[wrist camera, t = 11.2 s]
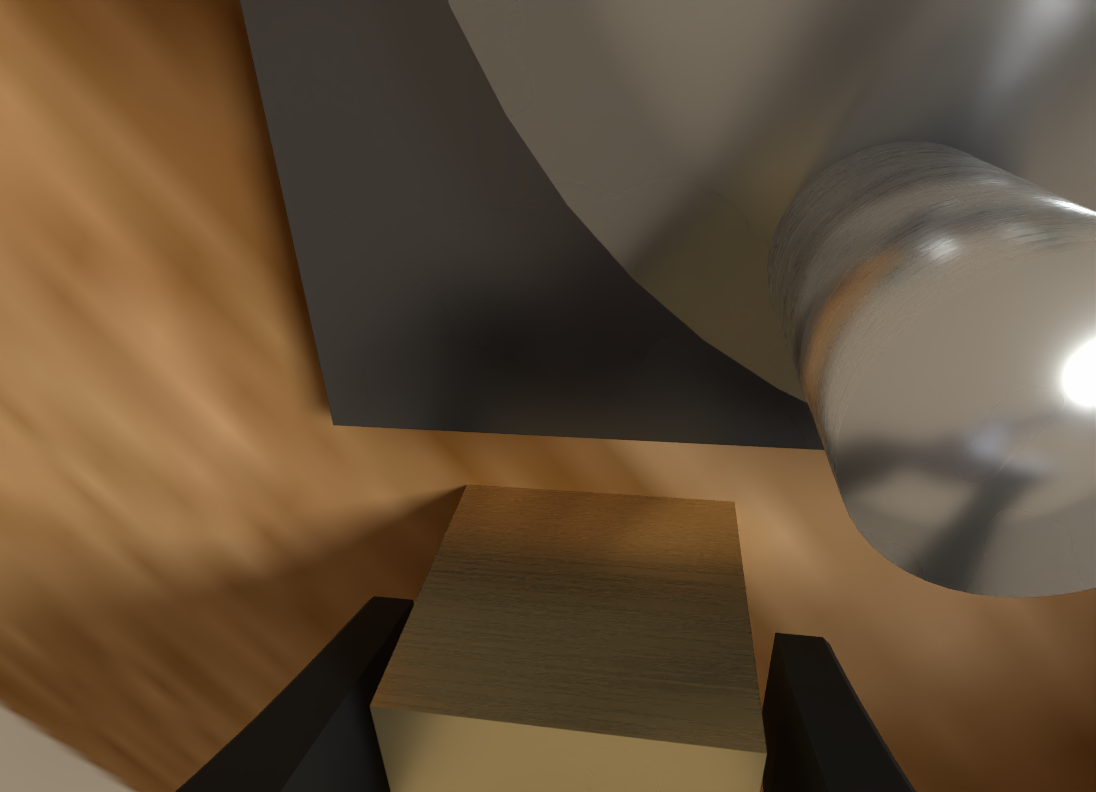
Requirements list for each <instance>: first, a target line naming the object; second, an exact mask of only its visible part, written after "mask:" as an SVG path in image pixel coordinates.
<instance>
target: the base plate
mask: <svg viewBox="0 0 1096 792" xmlns="http://www.w3.org/2000/svg"><path fill="white" fill-rule="evenodd" d="M240 3H241V8H242V12H243V17H244V21H245V26H246V30H247V35H248V39H249V44H250V49H251V53H252V58H253V62H254V67H255V71H256V76H257V80H258V85H259V89H260V94H261V98H262V103H263V108H264V112H265V117H266V121H267V126H268V130H269V135H270V139H271V144H272V148H273V153H274V157H275V162H276V167H277V171H278V176H279V180H280V185H281V189H282V194H283V198H284V203H285V207H286V212H287V216H288V221H289V226H290V230H291V235H292V239H293V244H294V248H295V253H296V257H297V262H298V266H299V271H300V275H301V280H302V284H303V289H304V294H305V298H306V303H307V307H308V312H309V316H310V321H311V325H312V330H313V334H314V339H315V343H316V348H317V353H318V357H319V362H320V366H321V371H322V375H323V380H324V384H325V389H326V393H327V398H328V402H329V407H330V412H331V416H332V421H333V425H342V426H362V427H382V428H401V429H421V430H441V431H461V432H481V433H500V434H520V435H540V436H560V437H580V438H599V439H619V440H639V441H659V442H678V443H698V444H718V445H738V446H758V447H777V448H797V449H817V450H825V449H824V447H823V444H822V441H821V438H820V435H819V433H818V430H817V427H816V424H815V422H814V419H813V416H812V413H811V410H810V408H809V405H808V403H806V402H804V401H802V400H800V399H798V398H796V397H794V396H792V395H790V394H788V393H786V392H783V391H781V390H779V389H778V388H776V387H775V386H773V385H772V384H770V383H768V382H767V381H765V380H764V379H762V378H761V377H759V376H758V375H756V374H755V373H753V372H752V371H750V370H749V369H747V368H746V367H744V366H743V365H741V364H740V363H738V362H737V361H735V360H733V359H732V358H730V357H729V356H727V355H726V354H724V353H723V352H721V351H720V350H718V349H717V348H715V347H714V346H712V345H711V344H709V343H708V342H706V341H705V340H703V339H702V338H701V337H700V336H698V335H697V334H696V333H695V332H694V331H693V330H692V329H690V328H689V327H688V326H687V325H686V324H685V323H683V322H682V321H681V320H680V319H679V318H678V317H676V316H675V315H674V314H673V313H672V312H671V311H670V310H668V309H667V308H666V307H665V306H664V305H663V304H661V303H660V302H659V301H658V300H657V299H656V298H655V297H653V296H652V295H651V294H650V293H649V292H648V291H646V290H645V289H644V288H643V287H642V286H641V285H640V284H638V283H637V282H636V281H635V280H634V279H633V278H632V277H631V276H630V275H629V274H628V273H627V272H626V270H625V269H624V268H623V267H622V266H621V265H620V264H619V263H618V261H617V260H616V259H615V258H614V257H613V256H612V255H611V254H610V252H609V251H608V250H607V249H606V248H605V247H604V246H603V245H602V243H601V242H600V241H599V240H598V239H597V238H596V237H595V235H594V234H593V233H592V232H591V231H590V230H589V229H588V228H587V226H586V225H585V224H584V223H583V222H582V221H581V220H580V219H579V217H578V216H577V215H576V214H575V213H574V212H573V211H572V210H571V208H570V207H569V206H568V205H567V204H566V202H565V201H564V199H563V198H562V196H561V195H560V193H559V192H558V191H557V189H556V188H555V186H554V185H553V183H552V182H551V180H550V179H549V177H548V176H547V174H546V173H545V171H544V170H543V168H542V167H541V166H540V164H539V163H538V161H537V160H536V158H535V157H534V155H533V154H532V152H531V151H530V149H529V148H528V146H527V145H526V144H525V142H524V141H523V139H522V138H521V136H520V135H519V133H518V132H517V130H516V129H515V127H514V126H513V124H512V123H511V121H510V120H509V119H508V117H507V116H506V114H505V112H504V110H503V108H502V106H501V104H500V102H499V100H498V98H497V96H496V94H495V93H494V91H493V89H492V87H491V85H490V83H489V81H488V79H487V77H486V75H485V73H484V71H483V69H482V67H481V65H480V64H479V62H478V60H477V58H476V56H475V54H474V52H473V50H472V48H471V46H470V44H469V42H468V40H467V38H466V36H465V35H464V33H463V31H462V29H461V27H460V25H459V23H458V21H457V19H456V17H455V15H454V13H453V11H452V9H451V7H450V5H449V2H448V0H240Z"/></svg>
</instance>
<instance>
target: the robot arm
mask: <svg viewBox="0 0 1096 792" xmlns="http://www.w3.org/2000/svg"><path fill="white" fill-rule="evenodd" d="M413 606H414V603H413V600H408V599H397V598H386V597H375V596H374V597H373V598H372V599H370V600H369V601H368V602H367V603H366V604H365V605H364V606H363V607H362V608H361V609H360V611H359V612H358V613H357V614H356V615H355V616H354V617H353V618H352V619H351V620H350V621H349V622H348V623H347V624H346V625H345V626H344V627H343V629H342V630H341V631H340V632H339V633H338V634H337V635H336V636H335V637H334V638H333V639H332V640H331V641H330V642H329V643H328V644H327V645H326V647H325V648H324V649H323V650H322V651H321V652H320V653H319V654H318V655H317V656H316V657H315V658H314V659H313V660H312V661H311V662H310V663H309V664H308V665H307V666H306V667H305V668H304V669H303V671H302V672H301V673H300V674H299V675H298V676H297V677H296V678H295V679H294V680H293V681H292V682H291V683H290V684H289V685H288V686H287V687H286V688H285V689H284V690H283V691H282V692H281V693H280V694H279V695H278V696H277V697H276V698H275V699H274V700H273V701H272V702H271V703H270V704H269V705H268V706H267V707H266V708H265V709H264V710H263V711H262V712H261V713H260V714H259V715H258V716H257V717H256V718H255V719H254V720H253V721H252V722H251V723H249V724H248V725H247V726H246V727H245V728H244V729H243V730H242V731H241V732H240V733H239V734H238V735H237V736H236V737H235V738H234V739H232V740H231V741H230V742H229V743H228V744H227V745H226V746H225V747H224V748H223V749H222V750H221V751H219V752H218V753H217V754H216V755H215V756H214V757H213V758H212V759H211V760H210V761H209V762H208V763H207V764H205V765H204V766H203V767H202V768H201V769H200V770H199V771H198V772H197V773H196V774H195V775H194V776H192V777H191V778H190V779H189V780H188V781H187V782H186V783H185V784H183V785H182V786H181V787H180V788H179V789H178V790H177V791H175V792H391V791H390V787H389V783H388V779H387V774H386V770H385V766H384V762H383V758H382V754H381V750H380V746H379V742H378V738H377V734H376V730H375V726H374V722H373V718H372V714H371V710H370V704H371V702H372V700H373V697H374V695H375V693H376V690H377V688H378V686H379V684H380V681H381V679H382V677H383V675H384V672H385V670H386V668H387V665H388V663H389V661H390V659H391V656H392V654H393V652H394V650H395V647H396V645H397V643H398V640H399V638H400V636H401V634H402V631H403V629H404V627H405V624H406V622H407V620H408V618H409V615H410V613H411V611H412V609H413ZM762 719H763V727H764V735H765V743H766V750H767V756H766V762H765V767H764V772H763V778H762V779H763V791H764V792H916V791H915V789H914V788H913V786H912V785H911V783H910V782H909V780H908V779H907V777H906V776H905V774H904V772H903V771H902V769H901V768H900V766H899V765H898V763H897V762H896V760H895V758H894V757H893V755H892V753H891V752H890V750H889V749H888V747H887V745H886V744H885V742H884V740H883V739H882V737H881V735H880V734H879V732H878V730H877V729H876V727H875V725H874V724H873V722H872V720H871V719H870V717H869V715H868V713H867V712H866V710H865V708H864V707H863V705H862V703H861V701H860V700H859V698H858V696H857V694H856V693H855V691H854V689H853V687H852V685H851V684H850V682H849V680H848V678H847V676H846V675H845V673H844V671H843V669H842V667H841V665H840V663H839V661H838V660H837V658H836V656H835V654H834V652H833V650H832V648H831V646H830V644H829V643H828V642H827V641H826V640H825V639H824V638H823V637H815V636H804V635H793V634H782V633H775V639H774V645H773V651H772V656H771V662H770V668H769V674H768V680H767V686H766V692H765V698H764V703H763V709H762Z"/></svg>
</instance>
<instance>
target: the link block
mask: <svg viewBox="0 0 1096 792" xmlns="http://www.w3.org/2000/svg"><path fill="white" fill-rule="evenodd" d="M370 710H371V714H372V718H373V722H374V726H375V730H376V734H377V738H378V742H379V746H380V750H381V754H382V758H383V762H384V766H385V770H386V774H387V779H388V783H389V787H390V791H391V792H760V788H761V783H762V778H763V772H764V767H765V762H766V756H767V750H766V743H765V735H764V727H763V719H762V712H761V704H760V696H759V689H758V681H757V673H756V665H755V658H754V650H753V642H752V635H751V627H750V619H749V611H748V604H747V596H746V588H745V581H744V573H743V565H742V557H741V550H740V542H739V534H738V526H737V519H736V511H735V503H734V502H731V501H715V500H699V499H684V498H668V497H653V496H637V495H621V494H606V493H590V492H575V491H559V490H543V489H528V488H512V487H496V486H481V485H467V486H466V488H465V490H464V493H463V495H462V497H461V499H460V502H459V504H458V506H457V508H456V511H455V513H454V515H453V518H452V520H451V522H450V524H449V527H448V529H447V531H446V534H445V536H444V538H443V540H442V543H441V545H440V547H439V549H438V552H437V554H436V556H435V559H434V561H433V563H432V565H431V568H430V570H429V572H428V574H427V577H426V579H425V581H424V584H423V586H422V588H421V590H420V593H419V595H418V597H417V599H416V602H415V604H414V606H413V609H412V611H411V613H410V615H409V618H408V620H407V622H406V624H405V627H404V629H403V631H402V634H401V636H400V638H399V640H398V643H397V645H396V647H395V650H394V652H393V654H392V656H391V659H390V661H389V663H388V665H387V668H386V670H385V672H384V675H383V677H382V679H381V681H380V684H379V686H378V688H377V690H376V693H375V695H374V697H373V700H372V702H371V704H370Z"/></svg>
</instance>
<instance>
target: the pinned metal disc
mask: <svg viewBox="0 0 1096 792" xmlns="http://www.w3.org/2000/svg"><path fill="white" fill-rule="evenodd" d="M448 2H449V5H450V7H451V9H452V11H453V13H454V15H455V17H456V19H457V21H458V23H459V25H460V27H461V29H462V31H463V33H464V35H465V36H466V38H467V40H468V42H469V44H470V46H471V48H472V50H473V52H474V54H475V56H476V58H477V60H478V62H479V64H480V65H481V67H482V69H483V71H484V73H485V75H486V77H487V79H488V81H489V83H490V85H491V87H492V89H493V91H494V93H495V94H496V96H497V98H498V100H499V102H500V104H501V106H502V108H503V110H504V112H505V114H506V116H507V117H508V119H509V120H510V121H511V123H512V124H513V126H514V127H515V129H516V130H517V132H518V133H519V135H520V136H521V138H522V139H523V141H524V142H525V144H526V145H527V146H528V148H529V149H530V151H531V152H532V154H533V155H534V157H535V158H536V160H537V161H538V163H539V164H540V166H541V167H542V168H543V170H544V171H545V173H546V174H547V176H548V177H549V179H550V180H551V182H552V183H553V185H554V186H555V188H556V189H557V191H558V192H559V193H560V195H561V196H562V198H563V199H564V201H565V202H566V204H567V205H568V206H569V207H570V208H571V210H572V211H573V212H574V213H575V214H576V215H577V216H578V217H579V219H580V220H581V221H582V222H583V223H584V224H585V225H586V226H587V228H588V229H589V230H590V231H591V232H592V233H593V234H594V235H595V237H596V238H597V239H598V240H599V241H600V242H601V243H602V245H603V246H604V247H605V248H606V249H607V250H608V251H609V252H610V254H611V255H612V256H613V257H614V258H615V259H616V260H617V261H618V263H619V264H620V265H621V266H622V267H623V268H624V269H625V270H626V272H627V273H628V274H629V275H630V276H631V277H632V278H633V279H634V280H635V281H636V282H637V283H638V284H640V285H641V286H642V287H643V288H644V289H645V290H646V291H648V292H649V293H650V294H651V295H652V296H653V297H655V298H656V299H657V300H658V301H659V302H660V303H661V304H663V305H664V306H665V307H666V308H667V309H668V310H670V311H671V312H672V313H673V314H674V315H675V316H676V317H678V318H679V319H680V320H681V321H682V322H683V323H685V324H686V325H687V326H688V327H689V328H690V329H692V330H693V331H694V332H695V333H696V334H697V335H698V336H700V337H701V338H702V339H703V340H705V341H706V342H708V343H709V344H711V345H712V346H714V347H715V348H717V349H718V350H720V351H721V352H723V353H724V354H726V355H727V356H729V357H730V358H732V359H733V360H735V361H737V362H738V363H740V364H741V365H743V366H744V367H746V368H747V369H749V370H750V371H752V372H753V373H755V374H756V375H758V376H759V377H761V378H762V379H764V380H765V381H767V382H768V383H770V384H772V385H773V386H775V387H776V388H778V389H779V390H781V391H783V392H786V393H788V394H790V395H792V396H794V397H796V398H798V399H800V400H802V401H804V402H806V403H808V405H809V408H810V410H811V413H812V416H813V419H814V422H815V424H816V427H817V430H818V433H819V435H820V438H821V441H822V444H823V447H824V449H825V452H826V455H827V458H828V461H829V463H830V466H831V469H832V472H833V475H834V477H835V480H836V483H837V486H838V488H839V491H840V494H841V497H842V499H843V502H844V504H845V507H846V509H847V511H848V514H849V516H850V518H851V519H852V521H853V522H854V524H855V525H856V527H857V529H858V530H859V532H860V533H861V534H862V535H863V536H864V538H865V539H866V540H867V541H868V542H869V543H870V544H871V545H872V547H873V548H875V549H876V550H877V551H878V552H879V553H881V554H882V555H883V556H884V557H885V558H886V559H888V560H889V561H891V562H892V563H894V564H895V565H897V566H898V567H900V568H902V569H903V570H905V571H906V572H908V573H911V574H913V575H915V576H917V577H919V578H921V579H923V580H926V581H928V582H931V583H934V584H937V585H940V586H943V587H946V588H949V589H954V590H958V591H963V592H967V593H972V594H980V595H988V596H995V597H1040V596H1052V595H1060V594H1067V593H1074V592H1079V591H1084V590H1088V589H1093V588H1096V0H448Z"/></svg>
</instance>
